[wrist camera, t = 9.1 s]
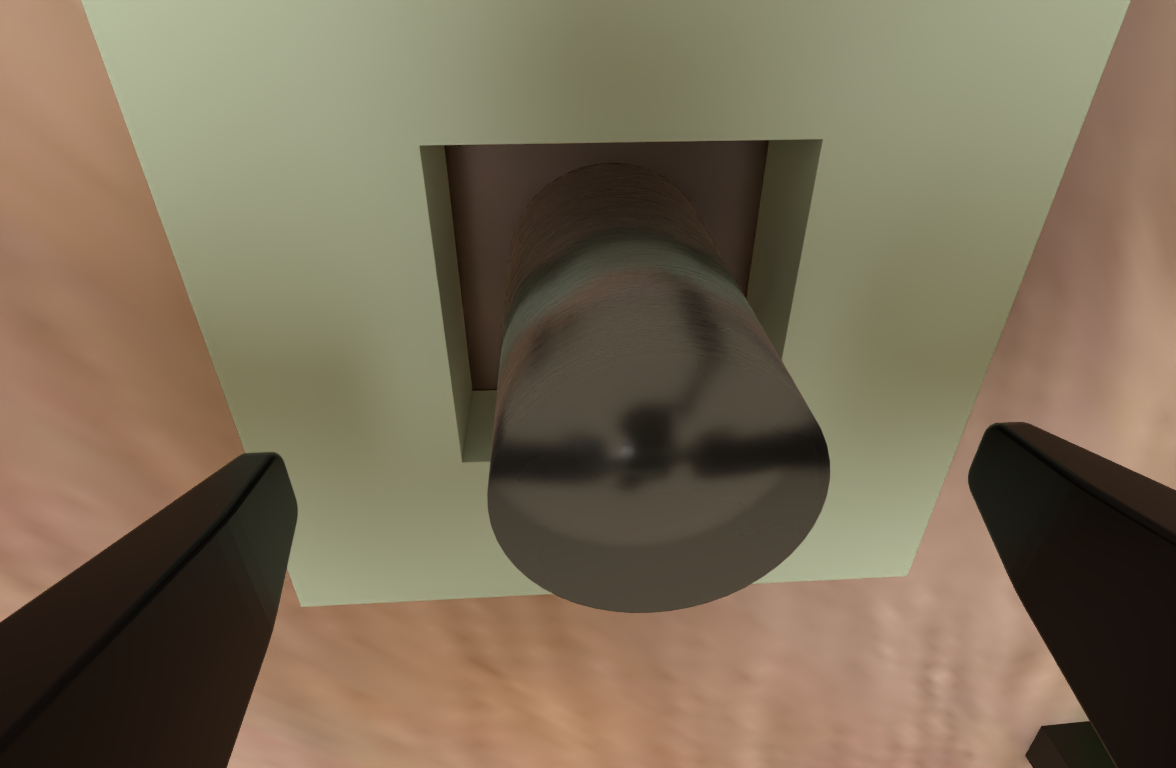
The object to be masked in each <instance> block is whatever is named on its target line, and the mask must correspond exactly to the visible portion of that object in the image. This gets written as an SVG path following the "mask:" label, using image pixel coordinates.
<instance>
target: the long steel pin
mask: <svg viewBox="0 0 1176 768" xmlns="http://www.w3.org/2000/svg"><path fill="white" fill-rule="evenodd" d="M829 482H830V458H829V452H828V447H827V443H826V441H825V438H824V435H823V433H822V430H821V428H820V426H819V424H818V423H817V421H816V419H815V417H814V416H813V414H812V412H811V410H810V409H809V407H808V405H807V403H806V402H805V400H804V398H803V396H802V395H801V393H800V391H799V390H798V388H797V386H796V384H795V383H794V381H793V379H792V377H791V376H790V374H789V372H788V370H787V369H786V367H785V365H784V364H783V362H782V360H781V358H780V357H779V355H778V353H777V351H776V350H775V348H774V346H773V344H772V343H771V341H770V339H769V337H768V336H767V334H766V332H765V331H764V329H763V327H762V325H761V324H760V322H759V320H758V318H757V317H756V315H755V313H754V311H753V310H752V308H751V306H750V305H749V303H748V301H747V299H746V298H745V296H744V294H743V292H742V291H741V289H740V287H739V285H738V284H737V282H736V280H735V278H734V277H733V275H732V273H731V272H730V270H729V268H728V266H727V265H726V263H725V261H724V259H723V258H722V256H721V254H720V252H719V251H718V249H717V247H716V246H715V244H714V242H713V240H712V239H711V237H710V235H709V233H708V232H707V230H706V228H705V226H704V225H703V223H702V221H701V219H700V218H699V216H698V214H697V213H696V211H695V209H694V208H693V206H692V204H691V203H690V201H689V200H688V199H687V198H686V196H685V195H684V194H683V193H682V192H681V191H680V190H679V189H678V188H677V187H676V186H675V185H674V184H672V183H671V182H669V181H668V180H666V179H665V178H663V177H662V176H660V175H658V174H656V173H654V172H652V171H649V170H646V169H643V168H640V167H637V166H632V165H627V164H613V163H608V164H597V165H592V166H587V167H583V168H580V169H577V170H574V171H572V172H569V173H567V174H565V175H563V176H561V177H560V178H558V179H556V180H555V181H553V182H552V183H550V184H549V185H548V186H546V187H545V188H544V189H543V190H542V191H541V192H540V193H538V194H537V195H536V196H535V198H534V199H533V200H532V201H531V202H530V204H529V205H528V206H527V208H526V209H525V211H524V212H523V214H522V216H521V217H520V220H519V222H518V224H517V226H516V229H515V232H514V235H513V239H512V244H511V251H510V260H509V270H508V281H507V291H506V302H505V312H504V323H503V333H502V344H501V354H500V365H499V375H498V386H497V396H496V407H495V417H494V428H493V438H492V449H491V459H490V470H489V480H488V491H487V501H488V513H489V518H490V523H491V527H492V529H493V532H494V534H495V537H496V540H497V542H498V543H499V545H500V547H501V548H502V550H503V552H504V553H505V555H506V556H507V557H508V558H509V560H510V561H511V562H512V563H513V564H514V566H515V567H516V568H517V569H518V570H519V571H521V572H522V573H523V574H524V575H525V576H526V577H527V578H528V579H530V580H531V581H533V582H534V583H536V584H537V585H539V586H540V587H542V588H543V589H545V590H547V591H549V592H551V593H553V594H555V595H557V596H558V597H561V598H564V599H566V600H569V601H571V602H574V603H577V604H581V605H584V606H588V607H592V608H596V609H602V610H608V611H615V612H628V613H652V612H663V611H672V610H678V609H683V608H689V607H693V606H697V605H700V604H704V603H708V602H711V601H714V600H716V599H719V598H722V597H725V596H728V595H730V594H732V593H734V592H736V591H738V590H741V589H743V588H745V587H747V586H748V585H750V584H752V583H754V582H755V581H757V580H759V579H760V578H762V577H763V576H765V575H766V574H768V573H769V572H770V571H772V570H773V569H775V568H776V567H777V566H779V565H780V564H781V563H782V562H783V561H784V560H785V559H786V558H788V557H789V556H790V555H791V554H792V553H793V552H794V551H795V550H796V548H797V547H798V546H799V545H800V544H801V543H802V542H803V541H804V539H805V538H806V536H807V535H808V534H809V532H810V531H811V529H812V528H813V526H814V525H815V523H816V521H817V519H818V517H819V515H820V513H821V511H822V508H823V505H824V503H825V500H826V497H827V493H828V487H829Z"/></svg>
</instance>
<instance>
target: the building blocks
mask: <svg viewBox="0 0 1176 768" xmlns="http://www.w3.org/2000/svg"><path fill="white" fill-rule="evenodd" d="M1025 756H1026V757H1027V759H1028V761H1029V762H1030V764H1031V765H1032V767H1033V768H1117V767H1116V766H1115V764H1114V762H1113V760H1112V759H1111V757H1110V755H1109V753H1108V752H1107V750H1106V748H1105V747H1104V745H1103V743H1102V741H1101V740H1100V738H1099V736H1098V734H1097V733H1096V731H1095V729H1094V727H1093V726H1092V724H1091V722H1090V721H1087V722H1077V723H1067V724H1058V725H1048V726H1041V728H1040V730H1039V732H1038V734H1037V735H1036V737H1035V739H1034V741H1033V743H1032V744H1031V746H1030V748H1029V750H1028V752H1027V753H1026V755H1025Z"/></svg>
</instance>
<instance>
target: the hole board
mask: <svg viewBox="0 0 1176 768" xmlns="http://www.w3.org/2000/svg"><path fill="white" fill-rule="evenodd" d="M1130 1H1131V0H81V2H82V4H83V7H84V10H85V13H86V15H87V18H88V21H89V24H90V26H91V29H92V32H93V35H94V37H95V40H96V43H97V46H98V48H99V51H100V54H101V57H102V59H103V62H104V65H105V68H106V70H107V73H108V76H109V79H110V82H111V84H112V87H113V90H114V93H115V95H116V98H117V101H118V104H119V106H120V109H121V112H122V115H123V117H124V120H125V123H126V126H127V128H128V131H129V134H130V137H131V139H132V142H133V145H134V148H135V150H136V153H137V156H138V159H139V161H140V164H141V167H142V170H143V172H144V175H145V178H146V181H147V184H148V186H149V189H150V192H151V195H152V197H153V200H154V203H155V206H156V208H157V211H158V214H159V217H160V219H161V222H162V225H163V228H164V230H165V233H166V236H167V239H168V241H169V244H170V247H171V250H172V252H173V255H174V258H175V261H176V263H177V266H178V269H179V272H180V274H181V277H182V280H183V283H184V285H185V288H186V291H187V294H188V297H189V299H190V302H191V305H192V308H193V310H194V313H195V316H196V319H197V321H198V324H199V327H200V330H201V332H202V335H203V338H204V341H205V343H206V346H207V349H208V352H209V354H210V357H211V360H212V363H213V365H214V368H215V371H216V374H217V376H218V379H219V382H220V385H221V387H222V390H223V393H224V396H225V398H226V401H227V404H228V407H229V410H230V412H231V415H232V418H233V421H234V423H235V426H236V429H237V432H238V434H239V437H240V440H241V443H242V445H243V448H244V451H245V453H255V452H276V453H278V454H279V455H280V456H281V457H282V458H283V460H284V463H285V466H286V469H287V472H288V475H289V478H290V481H291V484H292V487H293V490H294V493H295V497H296V500H297V505H298V518H297V524H296V528H295V533H294V537H293V542H292V547H291V551H290V556H289V561H288V565H287V569H288V572H289V575H290V578H291V580H292V583H293V586H294V589H295V591H296V594H297V597H298V600H299V602H300V605H301V607H308V606H328V605H347V604H367V603H387V602H406V601H426V600H445V599H465V598H485V597H504V596H524V595H543V594H553V593H551V592H549V591H547V590H545V589H543V588H542V587H540V586H539V585H537V584H536V583H534V582H533V581H531V580H530V579H528V578H527V577H526V576H525V575H524V574H523V573H522V572H521V571H519V570H518V569H517V568H516V567H515V566H514V564H513V563H512V562H511V561H510V560H509V558H508V557H507V556H506V555H505V553H504V552H503V550H502V548H501V547H500V545H499V543H498V542H497V540H496V537H495V534H494V532H493V529H492V527H491V523H490V518H489V513H488V501H487V491H488V480H489V470H490V459H491V449H492V438H493V428H494V417H495V407H496V396H497V390H486V391H472V383H471V375H470V366H469V357H468V349H467V340H466V331H465V322H464V314H463V305H462V296H461V288H460V279H459V270H458V261H457V253H456V244H455V235H454V227H453V218H452V209H451V201H450V192H449V183H448V174H447V166H446V157H445V148H444V145H484V144H547V143H610V142H673V141H736V140H769V144H768V151H767V158H766V165H765V172H764V179H763V186H762V193H761V200H760V207H759V213H758V220H757V227H756V234H755V241H754V248H753V255H752V262H751V269H750V276H749V283H748V290H747V297H746V299H747V301H748V303H749V305H750V306H751V308H752V310H753V311H754V313H755V315H756V317H757V318H758V320H759V322H760V324H761V325H762V327H763V329H764V331H765V332H766V334H767V336H768V337H769V339H770V341H771V343H772V344H773V346H774V348H775V350H776V351H777V353H778V355H779V357H780V358H781V360H782V362H783V364H784V365H785V367H786V369H787V370H788V372H789V374H790V376H791V377H792V379H793V381H794V383H795V384H796V386H797V388H798V390H799V391H800V393H801V395H802V396H803V398H804V400H805V402H806V403H807V405H808V407H809V409H810V410H811V412H812V414H813V416H814V417H815V419H816V421H817V423H818V424H819V426H820V428H821V430H822V433H823V435H824V438H825V441H826V443H827V447H828V452H829V458H830V482H829V487H828V493H827V497H826V500H825V503H824V505H823V508H822V511H821V513H820V515H819V517H818V519H817V521H816V523H815V525H814V526H813V528H812V529H811V531H810V532H809V534H808V535H807V536H806V538H805V539H804V541H803V542H802V543H801V544H800V545H799V546H798V547H797V548H796V550H795V551H794V552H793V553H792V554H791V555H790V556H789V557H788V558H786V559H785V560H784V561H783V562H782V563H781V564H780V565H779V566H777V567H776V568H775V569H773V570H772V571H770V572H769V573H768V574H766V575H765V576H763V577H762V578H760V579H759V580H757V581H755V582H754V583H752V584H759V583H779V582H798V581H818V580H837V579H857V578H877V577H896V576H907V575H908V573H909V570H910V568H911V565H912V562H913V560H914V557H915V555H916V552H917V550H918V547H919V544H920V542H921V539H922V537H923V534H924V531H925V529H926V526H927V524H928V521H929V519H930V516H931V513H932V511H933V508H934V506H935V503H936V501H937V498H938V495H939V493H940V490H941V488H942V485H943V483H944V480H945V477H946V475H947V472H948V470H949V467H950V465H951V462H952V459H953V457H954V454H955V452H956V449H957V447H958V444H959V441H960V439H961V436H962V434H963V431H964V428H965V426H966V423H967V421H968V418H969V416H970V413H971V410H972V408H973V405H974V403H975V400H976V398H977V395H978V392H979V390H980V387H981V385H982V382H983V380H984V377H985V374H986V372H987V369H988V367H989V364H990V362H991V359H992V356H993V354H994V351H995V349H996V346H997V343H998V341H999V338H1000V336H1001V333H1002V331H1003V328H1004V325H1005V323H1006V320H1007V318H1008V315H1009V313H1010V310H1011V307H1012V305H1013V302H1014V300H1015V297H1016V295H1017V292H1018V289H1019V287H1020V284H1021V282H1022V279H1023V277H1024V274H1025V271H1026V269H1027V266H1028V264H1029V261H1030V258H1031V256H1032V253H1033V251H1034V248H1035V246H1036V243H1037V240H1038V238H1039V235H1040V233H1041V230H1042V228H1043V225H1044V222H1045V220H1046V217H1047V215H1048V212H1049V210H1050V207H1051V204H1052V202H1053V199H1054V197H1055V194H1056V192H1057V189H1058V186H1059V184H1060V181H1061V179H1062V176H1063V174H1064V171H1065V168H1066V166H1067V163H1068V161H1069V158H1070V155H1071V153H1072V150H1073V148H1074V145H1075V143H1076V140H1077V137H1078V135H1079V132H1080V130H1081V127H1082V125H1083V122H1084V119H1085V117H1086V114H1087V112H1088V109H1089V107H1090V104H1091V101H1092V99H1093V96H1094V94H1095V91H1096V89H1097V86H1098V83H1099V81H1100V78H1101V76H1102V73H1103V71H1104V68H1105V65H1106V63H1107V60H1108V58H1109V55H1110V52H1111V50H1112V47H1113V45H1114V42H1115V40H1116V37H1117V34H1118V32H1119V29H1120V27H1121V24H1122V22H1123V19H1124V16H1125V14H1126V11H1127V9H1128V6H1129V4H1130Z"/></svg>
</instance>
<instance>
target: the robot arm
mask: <svg viewBox="0 0 1176 768" xmlns="http://www.w3.org/2000/svg"><path fill="white" fill-rule="evenodd" d="M968 483H969V488H970V491H971V493H972V496H973V498H974V500H975V502H976V504H977V507H978V509H979V511H980V513H981V516H982V518H983V520H984V522H985V525H986V527H987V529H988V531H989V534H990V536H991V538H992V540H993V543H994V545H995V547H996V549H997V552H998V554H999V556H1000V558H1001V561H1002V563H1003V565H1004V567H1005V570H1006V572H1007V574H1008V576H1009V578H1010V580H1011V582H1012V584H1013V587H1014V589H1015V591H1016V593H1017V595H1018V596H1019V598H1020V600H1021V602H1022V604H1023V606H1024V607H1025V609H1026V611H1027V613H1028V614H1029V616H1030V618H1031V620H1032V621H1033V623H1034V625H1035V627H1036V628H1037V630H1038V632H1039V634H1040V635H1041V637H1042V639H1043V641H1044V642H1045V644H1046V646H1047V647H1048V649H1049V651H1050V653H1051V654H1052V656H1053V658H1054V660H1055V661H1056V663H1057V665H1058V667H1059V668H1060V670H1061V672H1062V674H1063V675H1064V677H1065V679H1066V681H1067V682H1068V684H1069V686H1070V687H1071V689H1072V691H1073V693H1074V694H1075V696H1076V698H1077V700H1078V701H1079V703H1080V705H1081V707H1082V708H1083V710H1084V712H1085V714H1086V715H1087V717H1088V719H1089V720H1090V722H1091V724H1092V726H1093V727H1094V729H1095V731H1096V733H1097V734H1098V736H1099V738H1100V740H1101V741H1102V743H1103V745H1104V747H1105V748H1106V750H1107V752H1108V753H1109V755H1110V757H1111V759H1112V760H1113V762H1114V764H1115V766H1116V767H1117V768H1176V490H1174V489H1172V488H1170V487H1167V486H1165V485H1163V484H1161V483H1159V482H1156V481H1154V480H1152V479H1150V478H1148V477H1145V476H1143V475H1141V474H1139V473H1137V472H1134V471H1132V470H1130V469H1128V468H1126V467H1123V466H1121V465H1119V464H1117V463H1115V462H1112V461H1110V460H1108V459H1106V458H1104V457H1101V456H1099V455H1097V454H1095V453H1093V452H1090V451H1088V450H1086V449H1084V448H1082V447H1079V446H1077V445H1075V444H1073V443H1071V442H1068V441H1066V440H1064V439H1062V438H1060V437H1057V436H1055V435H1053V434H1051V433H1049V432H1046V431H1044V430H1042V429H1040V428H1038V427H1035V426H1033V425H1031V424H1028V423H1025V422H1006V423H995V424H992V425H990V426H989V427H988V428H987V429H986V431H985V433H984V435H983V437H982V440H981V442H980V445H979V447H978V450H977V452H976V454H975V457H974V459H973V462H972V464H971V467H970V469H969V474H968ZM297 518H298V505H297V500H296V497H295V493H294V490H293V487H292V484H291V481H290V478H289V475H288V472H287V469H286V466H285V463H284V460H283V458H282V457H281V456H280V455H279V454H278V453H276V452H255V453H244V454H242V455H240V456H238V457H237V458H235V459H234V460H232V461H231V462H230V463H228V464H227V465H225V466H224V467H222V468H221V469H220V470H218V471H217V472H215V473H214V474H212V475H211V476H209V477H208V478H207V479H205V480H204V481H202V482H201V483H199V484H198V485H197V486H195V487H194V488H192V489H191V490H189V491H188V492H187V493H185V494H184V495H182V496H181V497H179V498H178V499H177V500H175V501H174V502H172V503H171V504H169V505H168V506H166V507H165V508H164V509H162V510H161V511H159V512H158V513H156V514H155V515H154V516H152V517H151V518H149V519H148V520H146V521H145V522H144V523H142V524H141V525H139V526H138V527H136V528H135V529H133V530H132V531H131V532H129V533H128V534H126V535H125V536H123V537H122V538H121V539H119V540H118V541H116V542H115V543H113V544H112V545H111V546H109V547H108V548H106V549H105V550H103V551H102V552H101V553H99V554H98V555H96V556H95V557H93V558H92V559H90V560H89V561H88V562H86V563H85V564H83V565H82V566H80V567H79V568H78V569H76V570H75V571H73V572H72V573H70V574H69V575H68V576H66V577H65V578H63V579H62V580H60V581H59V582H57V583H56V584H55V585H53V586H52V587H50V588H49V589H47V590H46V591H45V592H43V593H42V594H40V595H39V596H37V597H36V598H34V599H33V600H32V601H30V602H29V603H27V604H26V605H24V606H23V607H22V608H20V609H19V610H17V611H16V612H14V613H13V614H12V615H10V616H9V617H7V618H6V619H4V620H3V621H1V622H0V768H227V765H228V762H229V759H230V756H231V753H232V751H233V748H234V745H235V742H236V739H237V736H238V733H239V730H240V727H241V724H242V721H243V718H244V715H245V713H246V710H247V707H248V704H249V701H250V698H251V695H252V692H253V689H254V686H255V683H256V680H257V677H258V675H259V672H260V669H261V666H262V663H263V660H264V657H265V654H266V651H267V648H268V645H269V642H270V638H271V635H272V632H273V628H274V624H275V620H276V616H277V612H278V607H279V602H280V598H281V593H282V588H283V584H284V579H285V574H286V570H287V565H288V561H289V556H290V551H291V547H292V542H293V537H294V533H295V528H296V524H297Z"/></svg>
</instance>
